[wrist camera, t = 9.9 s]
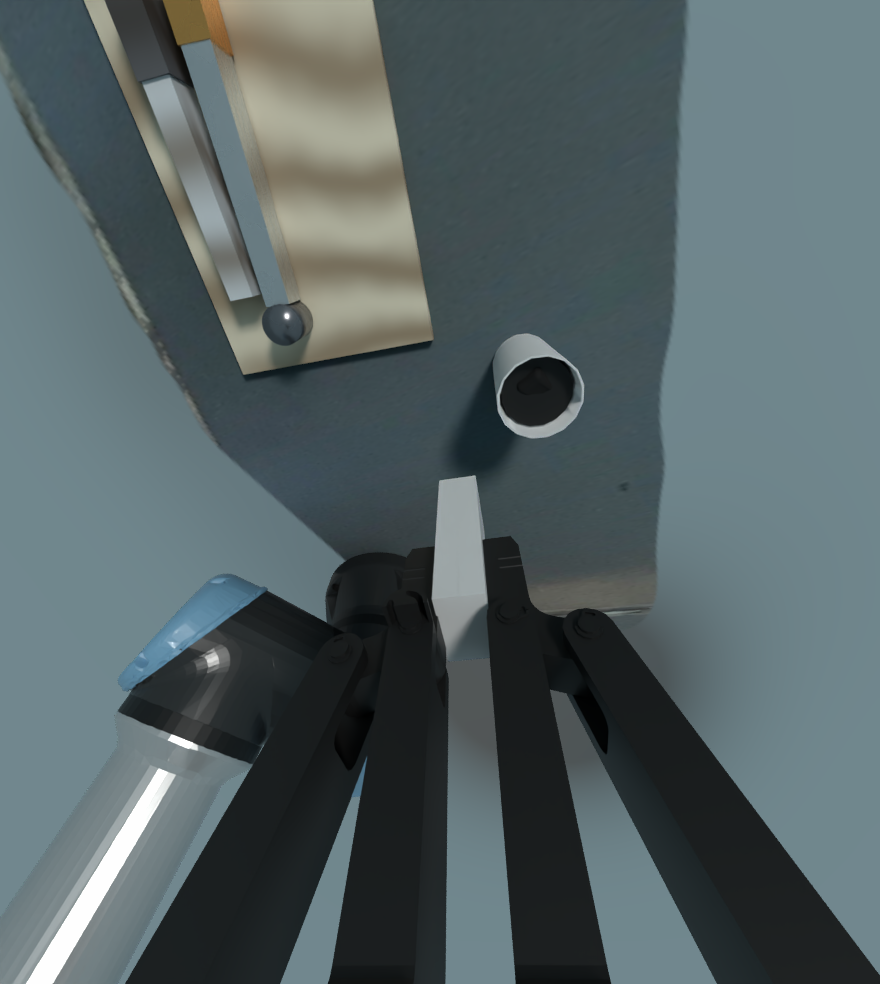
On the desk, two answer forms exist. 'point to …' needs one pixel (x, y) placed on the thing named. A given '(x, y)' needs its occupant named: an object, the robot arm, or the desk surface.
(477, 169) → the desk surface
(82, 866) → the robot arm
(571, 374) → the white coffee cup
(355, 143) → the board
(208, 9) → the bar
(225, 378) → the desk surface
